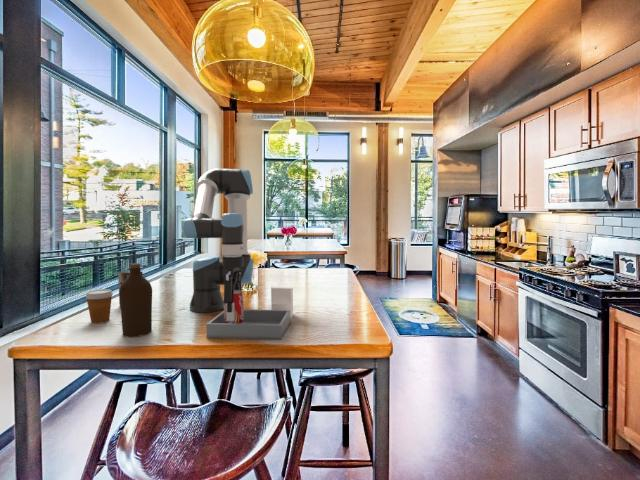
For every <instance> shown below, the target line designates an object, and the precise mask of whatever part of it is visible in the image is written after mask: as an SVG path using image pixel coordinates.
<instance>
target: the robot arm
mask: <svg viewBox="0 0 640 480" xmlns="http://www.w3.org/2000/svg"><path fill="white" fill-rule="evenodd" d="M252 182H253V180H252V176H251V172H250V170H249V169H245V168H244V169H243V168H212V169H210V170H208V171H206V172H205V173H203V174H202V175H201V176H200V177H199V179H198V180H197V182H196V185H195V190H196V197H195V200H194V201H195V202H194V205H193V208H192V215H191V217H189V218H186V219H184V220H183V224H182V229H183V236H184V237H185V238H187V239H221V254H222V257H220V256H219V255H212V256H205V257H201V258H197V259H195V260H193V264H192V280H193V285H192V287H193V292H192V293H193V294H192V296H191V300H190V302H189V310H190V311H191V312H194V313H210V312H211V313H212V312H217V311H221V310H224V303H226V319H227V321H235V316H234V303H233V299H234V290H241V291H242V292H241V293H242V294H243V285H248V284H250V283H251V282H252V278H253V271H254V262H255V259H254V258H252V256H251V255H252V254H251V253H249V251H248V207H247V206H248V203H247V202H248V201H249V200H250V197H251V195H253V194H254V191H253V183H252ZM217 194H218V195H219V194H220V195H222V194H224V198H225V199H226V200H227V213H222V214H221V218H213V211H214V205H215V197H216V196H217ZM221 286H224V287H223V294H222V291H221Z"/></svg>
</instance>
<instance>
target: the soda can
mask: <svg viewBox="0 0 640 480" xmlns="http://www.w3.org/2000/svg"><path fill="white" fill-rule="evenodd" d="M241 292H242V293H241ZM244 302H245V301H244V295H243V290H242V291H241V290H234V299H233V303H234V316H235V321H227V319H226V303H224V308H223V311H224V321H225V323H228V324H241V323H242V322H243V319H244V310H245V308H244V307H245V306H244Z"/></svg>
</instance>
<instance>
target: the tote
mask: <svg viewBox="0 0 640 480" xmlns="http://www.w3.org/2000/svg"><path fill="white" fill-rule="evenodd" d="M290 324H291V318H290V310H271V309H244V319H243V322H242V323H241V324H228V323H225V321H224V310H223V311H221V312H220V313H219V314H217V315H216V316H215V317H213V318H212V319H211V320H210V321H208V322H207V323H206V324H205V325H206V330H205V331H206V339H219V338H236V339H235V340H261V339H263V341H264V340H268V341H269V340H270V341H282V339H283V338H284V336H285V334H286V332H287V331H288V328H289V326H290Z"/></svg>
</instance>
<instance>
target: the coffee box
mask: <svg viewBox="0 0 640 480" xmlns="http://www.w3.org/2000/svg"><path fill="white" fill-rule="evenodd" d="M140 273H141V275H142V276H143V271H141V270H140ZM129 275H130V270H124V271H119V272H117V278H118V281H117V282H118V290H119V289H120V286H121V284H122V283H123V282H124V281H125V280H126V279H127V278H128V277H129ZM143 277H144V276H143ZM118 299H119V302H118V303H119V305H120V298H119V297H118Z"/></svg>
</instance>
